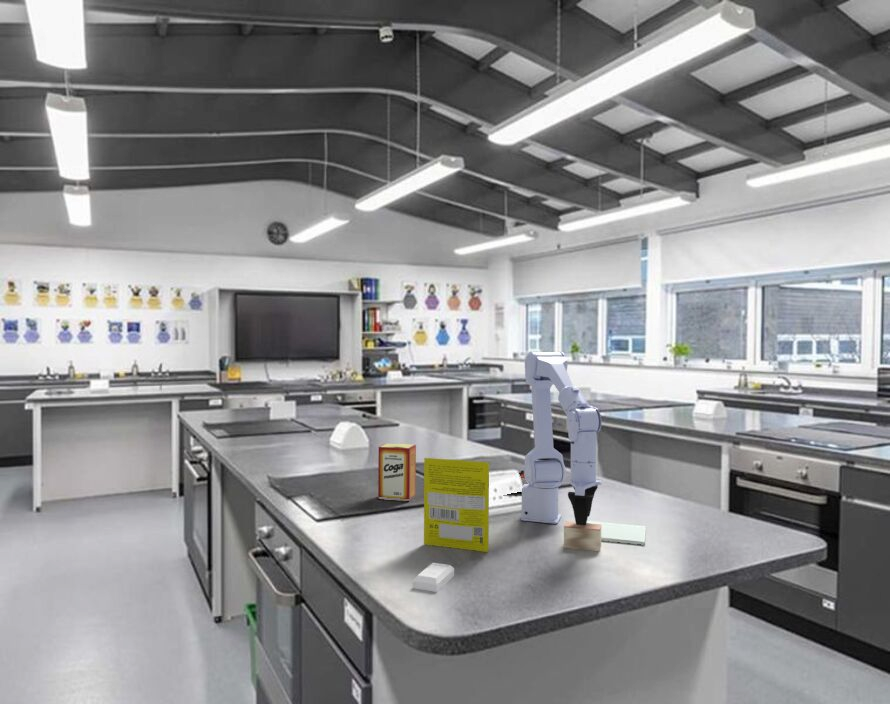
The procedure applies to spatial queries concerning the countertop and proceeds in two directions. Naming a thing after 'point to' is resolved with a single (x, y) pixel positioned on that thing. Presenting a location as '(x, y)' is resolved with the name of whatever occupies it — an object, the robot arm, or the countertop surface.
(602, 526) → the mat
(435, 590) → the soap bar
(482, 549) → the food package
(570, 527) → the maple block
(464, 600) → the countertop surface
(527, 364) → the robot arm
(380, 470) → the baking soda box
